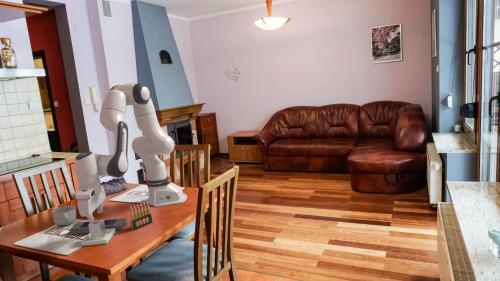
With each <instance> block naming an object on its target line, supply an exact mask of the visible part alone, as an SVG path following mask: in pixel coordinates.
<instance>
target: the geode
mask: <svg viewBox="0 0 500 281" xmlns="http://www.w3.org/2000/svg"><path fill="white" fill-rule="evenodd" d="M101 186H103V188H104V191H105V195H106V196H108V195H112V194H115V193H116V194H117V193H120V192H122V191H123V190H128V185H127V181H126V179H125V177H123V176H121V177H118V178H117V177H116V178H112V179H109V180H108V181H103V182H101Z"/></svg>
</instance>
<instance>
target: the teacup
mask: <svg viewBox="0 0 500 281" xmlns="http://www.w3.org/2000/svg"><path fill="white" fill-rule="evenodd" d="M76 208H77V207H76V206H74V205H66V206H60V207H57V208H55V209H53V210H52V211H51V214H52V219H53V222H54V223H55V224H56V225H58V226H59V227H61V226H62V227H63V226H68V225H72V224H73V223H74V221H76V219H77V209H76Z"/></svg>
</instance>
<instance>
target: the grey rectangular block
mask: <svg viewBox="0 0 500 281" xmlns="http://www.w3.org/2000/svg"><path fill="white" fill-rule="evenodd" d="M104 220H105V219H104V218H103V219H94V221H93V222H91V223H90V224H89V225H88V226H89V231H90V237H91V241H93V240H103V239H104V238H105V237H106V235H107V234H106V229H105V223H104Z"/></svg>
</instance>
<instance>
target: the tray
mask: <svg viewBox="0 0 500 281" xmlns="http://www.w3.org/2000/svg"><path fill="white" fill-rule="evenodd" d="M106 234H107V235H106V237H105V238H104V239H103V240H93V241H91V237H90V233H89V234H86V236H85V237H84V238H83V239H82V241H81V243H80V244H81V247H86V246H98V245H108V243H109V242H110V241H111V239H112V238H113V236H115V234H116V231H115V229H106Z"/></svg>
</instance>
